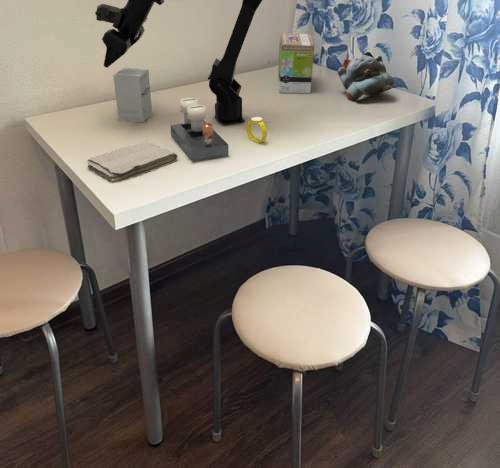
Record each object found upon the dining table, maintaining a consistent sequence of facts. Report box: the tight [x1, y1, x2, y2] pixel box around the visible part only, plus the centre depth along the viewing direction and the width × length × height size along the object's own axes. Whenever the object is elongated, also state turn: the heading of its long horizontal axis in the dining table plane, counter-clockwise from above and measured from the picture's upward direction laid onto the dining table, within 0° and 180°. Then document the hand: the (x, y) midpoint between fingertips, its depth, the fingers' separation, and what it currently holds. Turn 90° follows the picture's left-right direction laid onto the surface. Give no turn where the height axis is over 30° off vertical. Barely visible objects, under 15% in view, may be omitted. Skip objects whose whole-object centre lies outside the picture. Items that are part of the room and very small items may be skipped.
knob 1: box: [179, 96, 199, 124], centre depth 144 cm, size 4×4×6 cm
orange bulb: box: [202, 122, 214, 146], centre depth 134 cm, size 2×2×5 cm
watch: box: [246, 116, 268, 144], centre depth 144 cm, size 6×3×6 cm, turn 43°
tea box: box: [277, 33, 315, 94], centre depth 180 cm, size 15×10×15 cm
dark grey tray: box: [170, 119, 230, 163], centre depth 142 cm, size 9×17×3 cm, turn 23°
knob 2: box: [187, 103, 207, 131], centre depth 139 cm, size 4×4×6 cm
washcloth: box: [86, 140, 179, 183], centre depth 133 cm, size 12×18×3 cm, turn 135°
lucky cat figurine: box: [337, 51, 395, 103], centre depth 173 cm, size 15×12×14 cm
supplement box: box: [113, 67, 153, 123], centre depth 156 cm, size 7×7×13 cm
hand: (110, 61), depth 152 cm, fingers open, 9 cm apart
